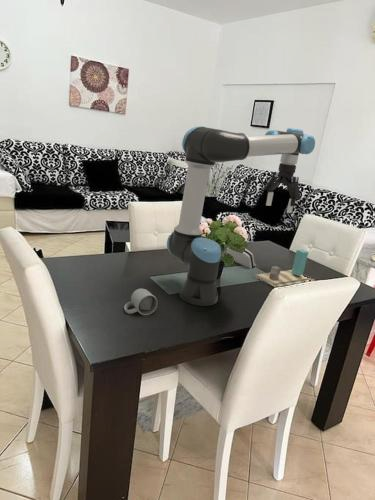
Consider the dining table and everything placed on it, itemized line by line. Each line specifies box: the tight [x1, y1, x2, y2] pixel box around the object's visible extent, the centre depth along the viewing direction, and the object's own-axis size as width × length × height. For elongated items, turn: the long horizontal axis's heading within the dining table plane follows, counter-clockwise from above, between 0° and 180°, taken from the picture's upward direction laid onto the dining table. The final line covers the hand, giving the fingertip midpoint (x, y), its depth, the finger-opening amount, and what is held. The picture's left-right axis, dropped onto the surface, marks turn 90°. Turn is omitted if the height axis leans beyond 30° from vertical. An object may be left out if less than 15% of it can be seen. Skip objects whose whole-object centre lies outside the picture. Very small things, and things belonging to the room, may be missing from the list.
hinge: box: [226, 247, 257, 269], centre depth 202 cm, size 17×5×10 cm, turn 43°
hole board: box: [253, 265, 316, 287], centre depth 187 cm, size 28×14×7 cm, turn 123°
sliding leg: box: [291, 249, 309, 276], centre depth 190 cm, size 4×4×13 cm
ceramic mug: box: [123, 287, 159, 316], centre depth 137 cm, size 11×8×8 cm
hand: (278, 209), depth 184 cm, fingers open, 13 cm apart
